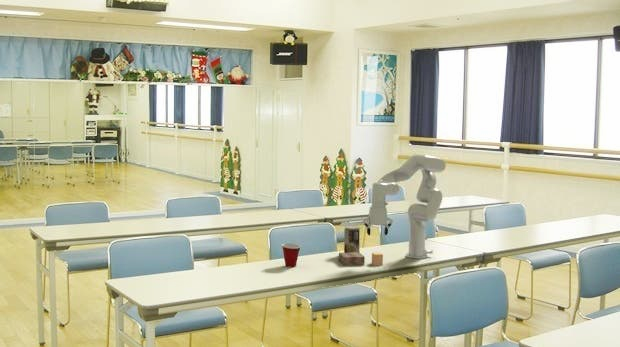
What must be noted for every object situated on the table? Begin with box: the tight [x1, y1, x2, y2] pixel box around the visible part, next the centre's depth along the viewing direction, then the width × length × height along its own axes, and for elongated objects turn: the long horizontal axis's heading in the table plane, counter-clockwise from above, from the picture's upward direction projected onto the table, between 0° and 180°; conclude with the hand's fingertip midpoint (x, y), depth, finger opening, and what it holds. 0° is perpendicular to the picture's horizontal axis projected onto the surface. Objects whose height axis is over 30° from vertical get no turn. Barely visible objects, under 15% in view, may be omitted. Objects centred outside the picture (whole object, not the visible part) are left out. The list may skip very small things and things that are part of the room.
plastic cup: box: [281, 242, 302, 268], centre depth 373 cm, size 11×11×12 cm
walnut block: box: [338, 251, 366, 267], centre depth 383 cm, size 12×12×5 cm
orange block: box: [371, 252, 384, 266], centre depth 381 cm, size 5×5×6 cm
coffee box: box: [343, 227, 361, 253], centre depth 401 cm, size 9×6×16 cm
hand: (377, 234), depth 380 cm, fingers open, 9 cm apart
